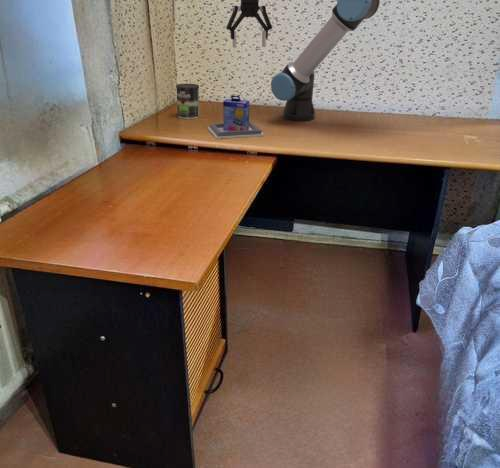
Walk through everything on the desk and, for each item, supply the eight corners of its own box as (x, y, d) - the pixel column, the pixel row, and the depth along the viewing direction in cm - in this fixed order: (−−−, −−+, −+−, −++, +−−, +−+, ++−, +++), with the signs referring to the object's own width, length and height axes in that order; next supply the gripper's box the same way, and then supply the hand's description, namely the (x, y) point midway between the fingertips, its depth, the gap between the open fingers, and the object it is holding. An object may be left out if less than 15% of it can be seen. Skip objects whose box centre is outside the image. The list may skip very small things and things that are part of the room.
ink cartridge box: (222, 130, 198) (222, 95, 191) (227, 127, 202) (227, 92, 196) (245, 133, 195) (245, 96, 189) (249, 129, 200) (250, 94, 193)
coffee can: (193, 120, 217) (192, 88, 210) (173, 117, 220) (171, 86, 214) (203, 115, 225) (202, 84, 219) (184, 113, 229) (183, 82, 222)
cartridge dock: (252, 126, 208) (252, 121, 207) (264, 136, 195) (264, 130, 194) (207, 129, 203) (207, 123, 202) (215, 139, 189) (215, 133, 188)
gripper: (273, -7, 207) (272, 45, 216) (218, -8, 199) (219, 46, 209) (280, -7, 201) (278, 47, 210) (223, -8, 193) (224, 48, 202)
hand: (249, 47), depth 209 cm, fingers open, 13 cm apart
